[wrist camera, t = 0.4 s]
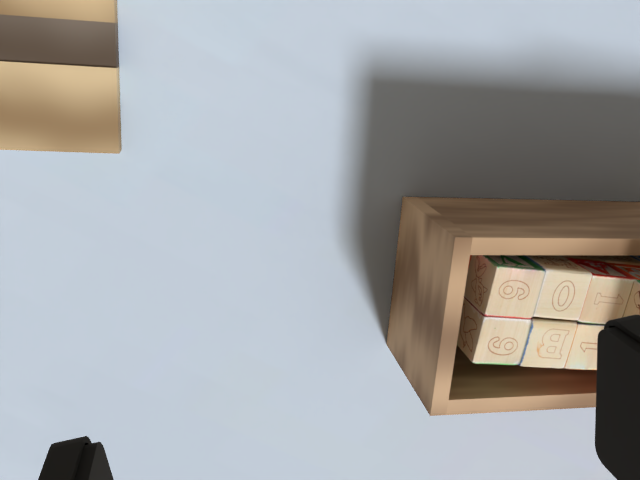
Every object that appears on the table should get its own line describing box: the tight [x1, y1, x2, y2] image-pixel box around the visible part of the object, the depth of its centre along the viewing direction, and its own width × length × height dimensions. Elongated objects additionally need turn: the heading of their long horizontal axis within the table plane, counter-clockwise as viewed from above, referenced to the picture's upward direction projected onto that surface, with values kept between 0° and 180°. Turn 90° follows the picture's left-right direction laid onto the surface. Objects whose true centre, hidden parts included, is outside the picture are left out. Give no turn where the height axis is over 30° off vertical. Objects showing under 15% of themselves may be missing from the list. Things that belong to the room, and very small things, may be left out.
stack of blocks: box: [457, 255, 640, 370], centre depth 40 cm, size 21×6×12 cm, turn 80°
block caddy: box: [387, 197, 640, 416], centre depth 41 cm, size 11×26×9 cm, turn 86°
